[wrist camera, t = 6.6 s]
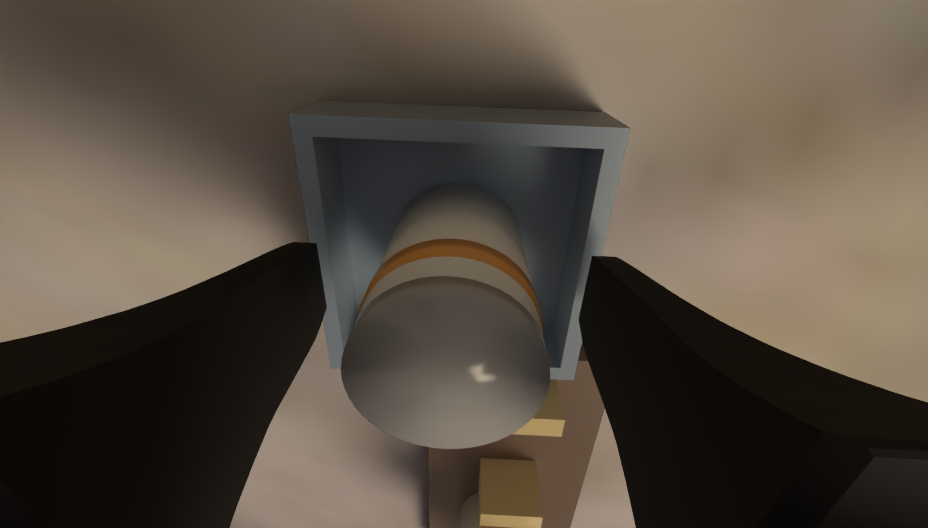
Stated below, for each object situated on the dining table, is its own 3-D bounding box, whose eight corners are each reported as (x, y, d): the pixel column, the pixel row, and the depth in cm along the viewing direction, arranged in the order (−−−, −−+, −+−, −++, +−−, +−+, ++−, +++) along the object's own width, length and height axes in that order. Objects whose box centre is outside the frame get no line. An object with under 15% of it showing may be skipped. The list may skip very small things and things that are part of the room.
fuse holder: (431, 531, 22) (424, 602, 20) (429, 339, 16) (418, 404, 13) (559, 538, 22) (570, 610, 19) (611, 347, 16) (640, 416, 13)
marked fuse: (399, 294, 14) (353, 447, 9) (388, 179, 12) (320, 290, 7) (518, 296, 14) (542, 452, 9) (527, 180, 12) (565, 294, 7)
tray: (350, 325, 16) (330, 368, 14) (321, 100, 12) (287, 113, 10) (561, 335, 15) (573, 380, 13) (604, 111, 11) (630, 128, 9)
